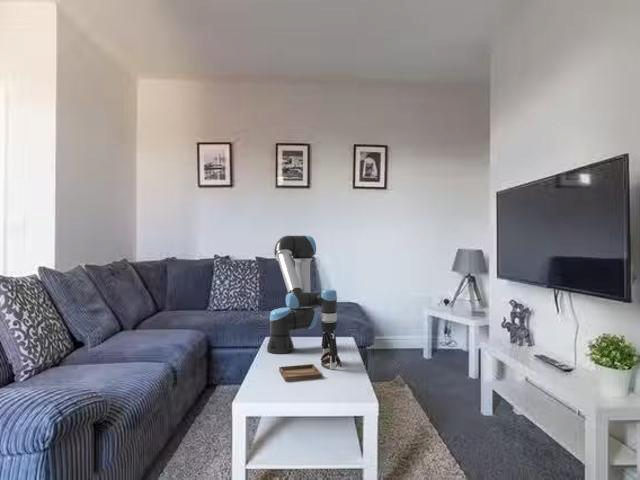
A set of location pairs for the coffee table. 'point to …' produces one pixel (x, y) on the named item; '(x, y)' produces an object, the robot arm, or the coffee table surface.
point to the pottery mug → (327, 361)
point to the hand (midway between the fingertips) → (329, 365)
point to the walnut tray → (300, 372)
